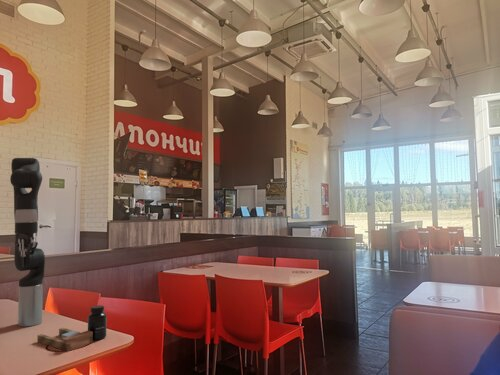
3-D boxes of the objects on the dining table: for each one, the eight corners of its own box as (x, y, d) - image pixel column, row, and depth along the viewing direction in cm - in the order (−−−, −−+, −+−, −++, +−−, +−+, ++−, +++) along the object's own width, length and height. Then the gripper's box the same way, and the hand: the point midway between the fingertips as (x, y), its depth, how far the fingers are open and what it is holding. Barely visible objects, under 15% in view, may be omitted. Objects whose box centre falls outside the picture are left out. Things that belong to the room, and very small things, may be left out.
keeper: (61, 345, 137) (61, 334, 137) (74, 341, 141) (74, 330, 141) (68, 348, 134) (68, 336, 134) (81, 343, 138) (81, 332, 138)
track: (37, 341, 141) (37, 331, 141) (62, 334, 149) (62, 324, 149) (67, 351, 130) (67, 339, 130) (92, 342, 138) (92, 331, 139)
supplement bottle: (99, 341, 139) (99, 309, 140) (83, 340, 141) (83, 308, 141) (110, 335, 146) (110, 304, 147) (94, 334, 147) (94, 304, 148)
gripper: (7, 221, 143) (6, 266, 142) (24, 221, 136) (24, 268, 135) (27, 221, 149) (27, 264, 148) (45, 220, 142) (44, 265, 141)
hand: (25, 266), depth 142 cm, fingers closed
